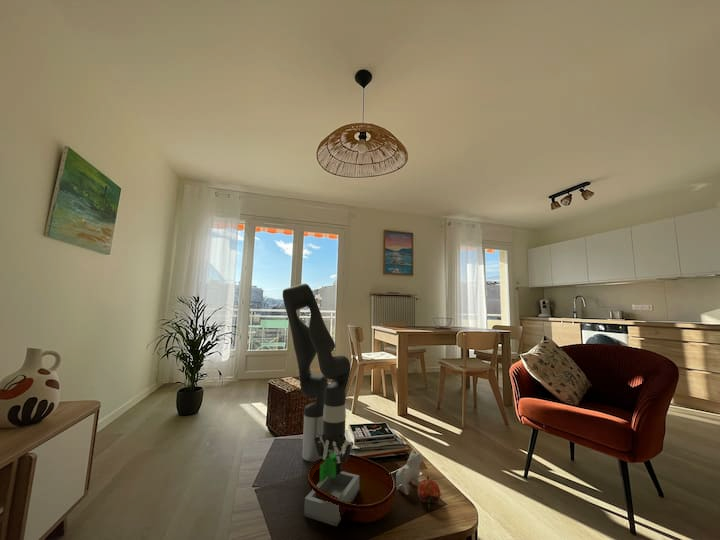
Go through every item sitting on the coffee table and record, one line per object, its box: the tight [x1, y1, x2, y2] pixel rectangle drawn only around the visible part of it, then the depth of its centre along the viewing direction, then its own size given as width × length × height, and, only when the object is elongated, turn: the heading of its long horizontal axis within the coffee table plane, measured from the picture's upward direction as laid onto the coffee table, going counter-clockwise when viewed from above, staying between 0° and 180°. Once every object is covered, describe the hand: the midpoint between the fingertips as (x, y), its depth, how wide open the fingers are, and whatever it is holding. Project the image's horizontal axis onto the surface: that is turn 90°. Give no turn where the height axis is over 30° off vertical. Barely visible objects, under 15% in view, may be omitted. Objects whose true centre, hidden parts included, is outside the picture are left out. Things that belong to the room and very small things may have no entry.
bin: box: [303, 470, 360, 527], centre depth 97 cm, size 18×11×5 cm, turn 158°
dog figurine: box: [396, 449, 423, 496], centre depth 108 cm, size 5×13×11 cm, turn 137°
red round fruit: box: [417, 475, 441, 508], centre depth 98 cm, size 7×7×10 cm
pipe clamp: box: [319, 451, 337, 482], centre depth 98 cm, size 11×4×5 cm, turn 158°
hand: (332, 471), depth 98 cm, fingers closed on pipe clamp, 3 cm apart
